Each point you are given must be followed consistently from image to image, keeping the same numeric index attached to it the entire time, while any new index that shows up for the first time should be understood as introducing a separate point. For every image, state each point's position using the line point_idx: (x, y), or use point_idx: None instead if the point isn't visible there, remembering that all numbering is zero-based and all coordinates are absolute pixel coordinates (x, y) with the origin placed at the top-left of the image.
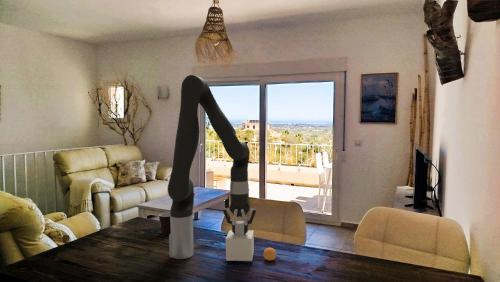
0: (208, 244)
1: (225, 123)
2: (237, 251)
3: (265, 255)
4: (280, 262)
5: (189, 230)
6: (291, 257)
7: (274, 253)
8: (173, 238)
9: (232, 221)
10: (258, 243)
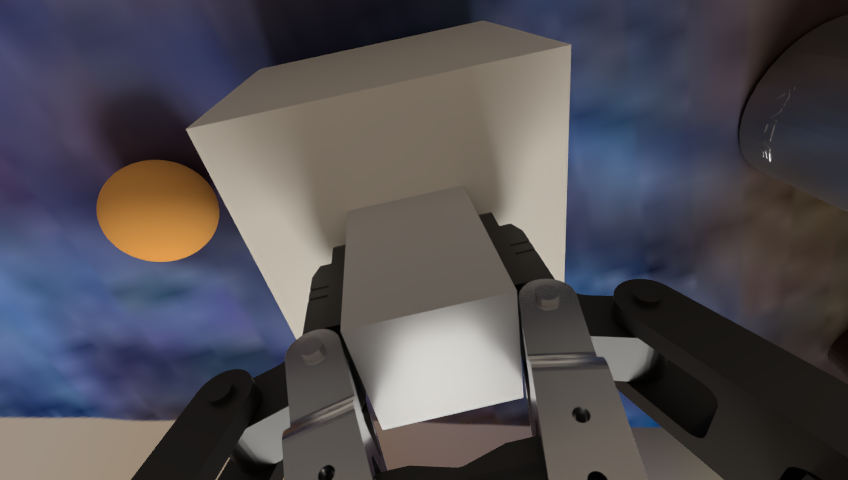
0: None
1: None
2: (388, 53)
3: (175, 171)
4: (81, 173)
5: None
6: (64, 269)
7: (97, 203)
8: None
9: (581, 323)
10: None
